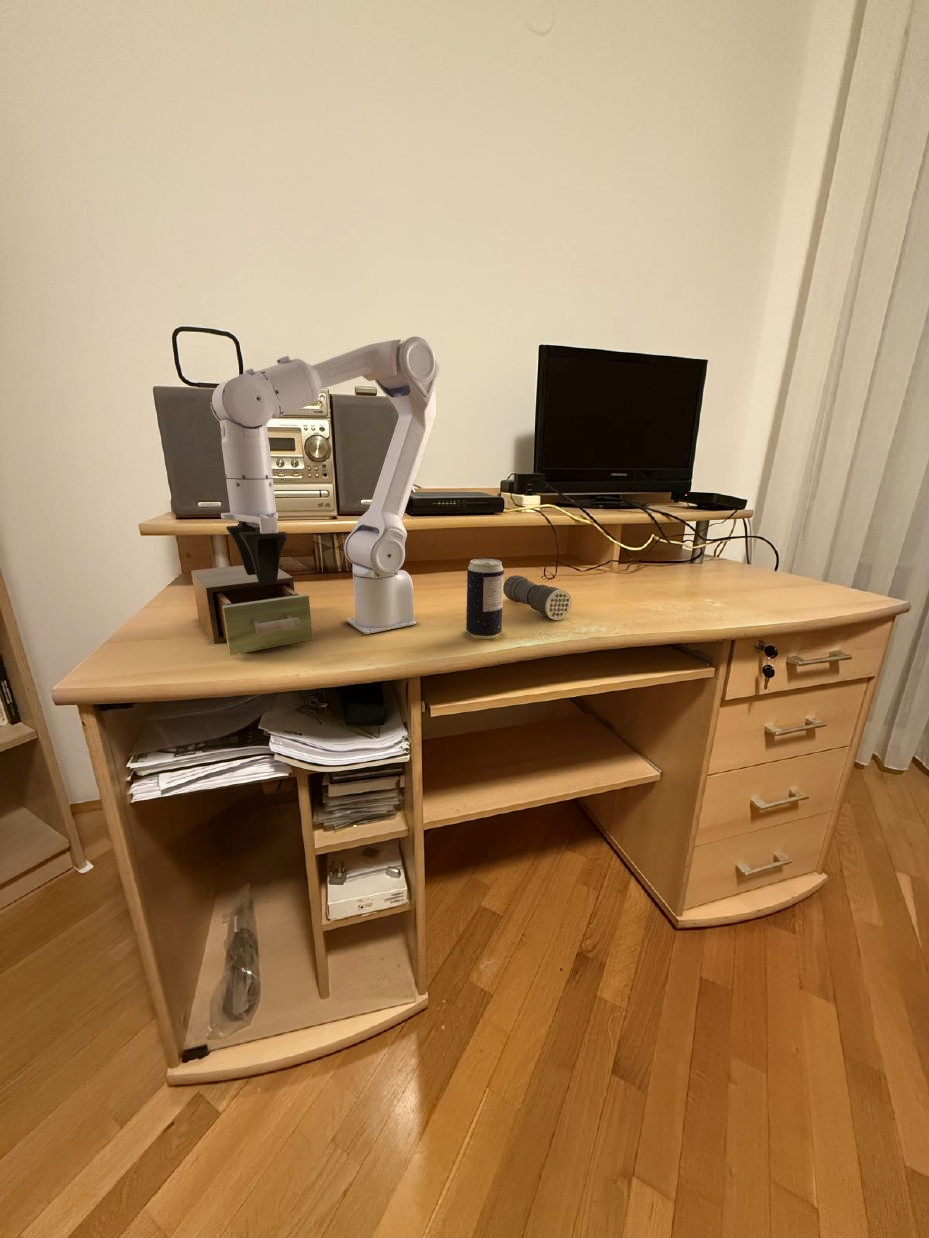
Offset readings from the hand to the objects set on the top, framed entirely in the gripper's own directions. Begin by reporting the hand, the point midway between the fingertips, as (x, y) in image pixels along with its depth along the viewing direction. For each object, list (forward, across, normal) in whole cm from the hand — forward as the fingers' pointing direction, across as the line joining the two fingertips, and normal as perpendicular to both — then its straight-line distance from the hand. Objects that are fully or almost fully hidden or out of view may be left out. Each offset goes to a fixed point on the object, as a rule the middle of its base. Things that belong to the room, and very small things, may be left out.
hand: (261, 578), depth 69 cm
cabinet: (+10, -13, 0) cm, 17 cm away
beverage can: (+11, +13, +30) cm, 34 cm away
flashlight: (+11, +7, +47) cm, 49 cm away
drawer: (+10, -1, 0) cm, 10 cm away
